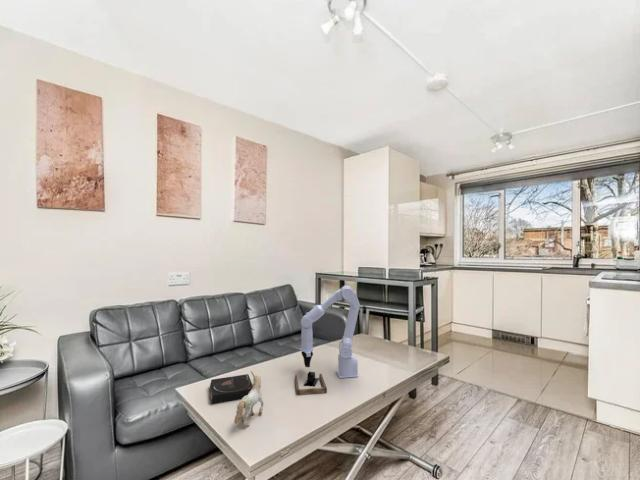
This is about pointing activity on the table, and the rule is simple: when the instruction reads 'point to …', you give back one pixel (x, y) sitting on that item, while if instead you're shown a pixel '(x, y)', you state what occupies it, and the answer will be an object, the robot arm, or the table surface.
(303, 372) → the table surface
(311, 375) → the black bevelled base
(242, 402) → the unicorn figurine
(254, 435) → the table surface
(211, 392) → the portable cd player
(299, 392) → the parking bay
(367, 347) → the table surface
